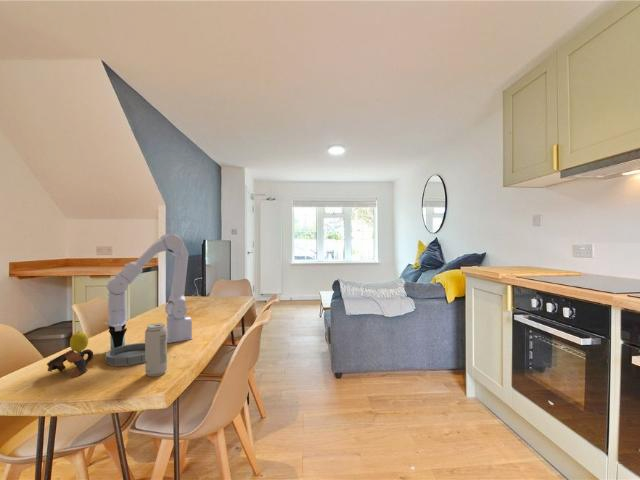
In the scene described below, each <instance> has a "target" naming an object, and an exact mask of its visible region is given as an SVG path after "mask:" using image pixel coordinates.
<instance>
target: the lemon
mask: <svg viewBox="0 0 640 480" xmlns="http://www.w3.org/2000/svg"><path fill="white" fill-rule="evenodd" d="M88 344H89V337H88V335H87V333H85V332H83V331H80V330H78V331H77V332H75V333H73V334H72V335H71V337H70V339H69V347H70V350H74V352H76V353H79V352H82V351H84V350H86V348H87V347H88Z"/></svg>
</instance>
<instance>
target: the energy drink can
mask: <svg viewBox="0 0 640 480" xmlns="http://www.w3.org/2000/svg"><path fill="white" fill-rule="evenodd" d="M144 343H145V362H144V365H145V367H144V369H145V370H144V372H145V373H146V374H147V375H146V376H147V377H150V378H153V377H159V376H163V375H164V374H165V373H166V371H167V369H168V353H167V352H168V351H167V350H168V349H167V348H168V345H167V344H168V343H167V327H165V324H164V323H160V322H159V323H153V324H152V323H151V324H148V325H147V326H146V330H145V331H144Z"/></svg>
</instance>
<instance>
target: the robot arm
mask: <svg viewBox="0 0 640 480" xmlns="http://www.w3.org/2000/svg"><path fill="white" fill-rule="evenodd" d="M144 251H145V252H143V253H142V254H141V255H140V256H139V258H138V259H136V260H135V261H130V262H129V263H125V264H124V266H123V267H124V268H122V269H121V270H120V271H119V272H118V273H116V274H114V275H113V276H114V278H113V277H112V278H111V279H110V280H109V281H108V282H107V284H106V288H107V289H106V290H108V300H107V302H108V303H107V305H108V308H107V311H108V313H107V314H108V315H107V317H108V321H106V322H104V325H105V326H108V333H109V334H110V336H112V339H113V343H114V347H115V348H116V347H120V346H122V343H123V337H124V334H126V332H127V331H128V329H127V327H126V325H127V322H128V320H127V298H126V291H127V290H128V285H130V284H131V285H132V283H133V282H134V281H135V280H136V279H137V278H138V277H139V276H140V275H141V274H142V273H143V268H144V266H145V265H147V263H148V262H150V261H151V260H152V259H153V258H154V257H155V256H156V255H157V254H158V253H159V254H160V253H162V252H166V251H167V252H170V254H171V255H173V257H174V263H173V264H174V265H173V273H172V281H171V282H172V283H171V292H170V295H169V297H168V302H167V303H166V304H165V309H164V310H165V313H166V314H167V316H166V329H167V344H171V343H178V342H182V341H189V340H193V331H192V329H193V325H192V324H193V323H192V318H191V316H187V313H188V308H187V304H186V302H187V301H186V297H185V291H186V281H187V274H188V272H187V271H188V263H189V251H188V248H187V247H186V245H185V243H184V239H183V238H182V237H181V236H180V235H178V234H176V233H170V234H168V233H167V234H163V235H161V237H160V238H158V239H157V240H155V241H154V242H153V243H152V244H151V245H150V246H149V247H148V248H147V249H146V250H144Z"/></svg>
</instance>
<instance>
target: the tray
mask: <svg viewBox="0 0 640 480" xmlns="http://www.w3.org/2000/svg"><path fill="white" fill-rule="evenodd" d="M140 364H145V342H136V343H135V342H134V343H128V344H125V345H123V346H120V347H116V348H113V349H111V348H110V350H108V351H106V352H105V365H107V366H109V367H121V368H122V367H128V366H135V365H140Z"/></svg>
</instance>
